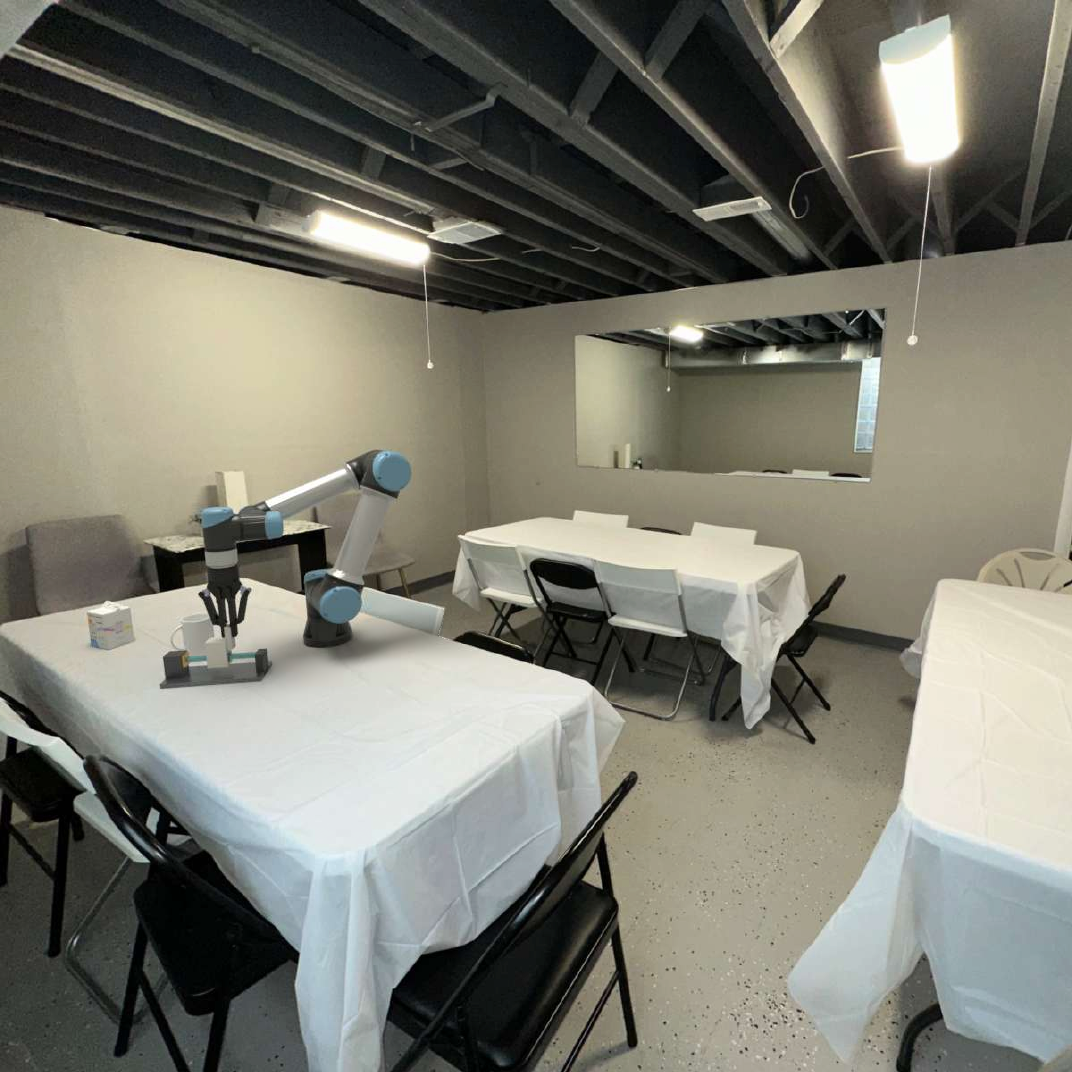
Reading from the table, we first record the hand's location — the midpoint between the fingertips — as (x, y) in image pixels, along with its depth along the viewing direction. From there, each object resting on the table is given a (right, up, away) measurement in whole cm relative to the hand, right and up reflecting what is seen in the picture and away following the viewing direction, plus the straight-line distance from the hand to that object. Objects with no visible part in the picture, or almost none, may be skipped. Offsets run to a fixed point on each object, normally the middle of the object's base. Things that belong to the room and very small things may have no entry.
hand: (231, 647), depth 157 cm
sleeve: (-3, -5, 0) cm, 6 cm away
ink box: (-51, -4, +25) cm, 57 cm away
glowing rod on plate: (-4, -8, +1) cm, 9 cm away
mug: (-19, -6, +14) cm, 24 cm away
